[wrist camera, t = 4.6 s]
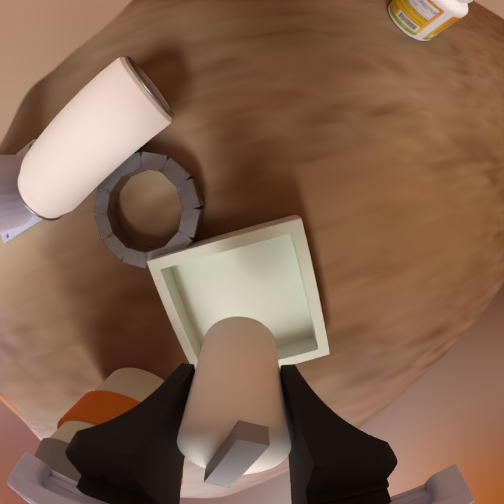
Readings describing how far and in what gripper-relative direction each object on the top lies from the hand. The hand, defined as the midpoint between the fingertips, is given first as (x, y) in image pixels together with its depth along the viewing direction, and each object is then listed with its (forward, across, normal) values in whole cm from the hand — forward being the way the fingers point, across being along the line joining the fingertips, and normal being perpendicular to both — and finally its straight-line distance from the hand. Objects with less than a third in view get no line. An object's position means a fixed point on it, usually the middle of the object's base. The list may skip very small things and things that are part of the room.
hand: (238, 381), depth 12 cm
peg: (+3, 0, 0) cm, 3 cm away
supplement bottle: (+10, -16, -27) cm, 33 cm away
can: (+7, +6, -16) cm, 19 cm away
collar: (+10, +7, -7) cm, 14 cm away
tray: (+10, 0, 0) cm, 10 cm away
